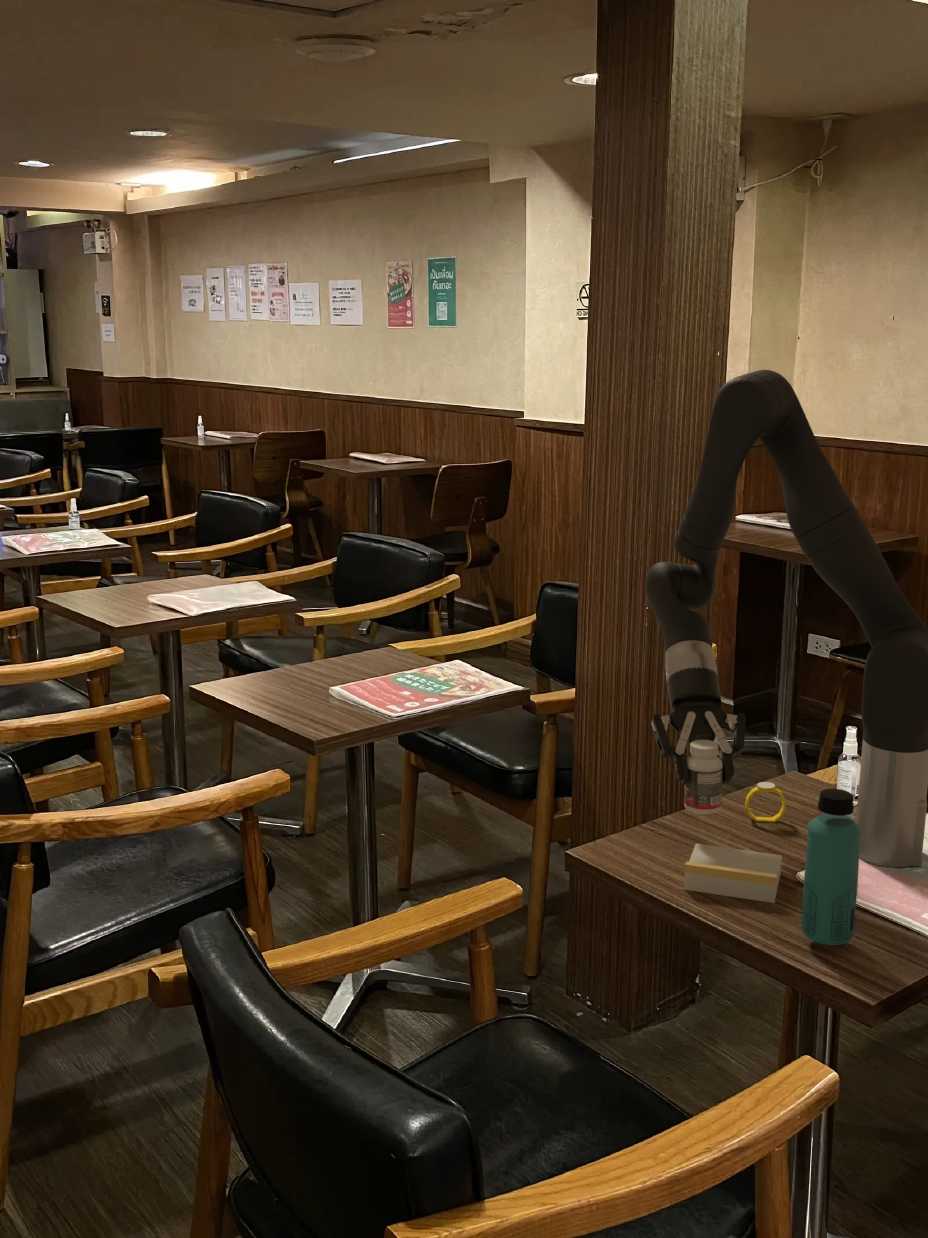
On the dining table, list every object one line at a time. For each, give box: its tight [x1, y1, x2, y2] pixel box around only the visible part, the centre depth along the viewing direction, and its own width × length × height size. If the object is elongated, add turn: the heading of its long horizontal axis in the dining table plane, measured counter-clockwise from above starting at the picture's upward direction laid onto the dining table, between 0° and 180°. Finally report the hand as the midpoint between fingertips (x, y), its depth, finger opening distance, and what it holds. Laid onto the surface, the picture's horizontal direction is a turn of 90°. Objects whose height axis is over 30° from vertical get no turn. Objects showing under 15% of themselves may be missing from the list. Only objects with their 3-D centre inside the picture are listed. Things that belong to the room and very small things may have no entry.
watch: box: [744, 781, 787, 823], centre depth 185 cm, size 6×3×6 cm, turn 83°
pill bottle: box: [683, 740, 723, 815], centre depth 172 cm, size 5×5×10 cm
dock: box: [683, 843, 783, 904], centre depth 165 cm, size 12×10×4 cm
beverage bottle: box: [800, 788, 861, 946], centre depth 146 cm, size 6×7×20 cm
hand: (706, 781), depth 170 cm, fingers closed on pill bottle, 5 cm apart
